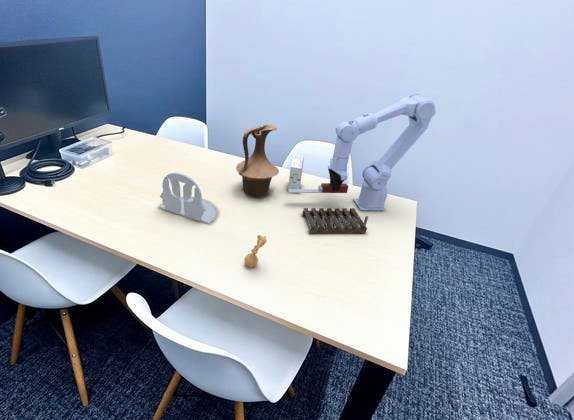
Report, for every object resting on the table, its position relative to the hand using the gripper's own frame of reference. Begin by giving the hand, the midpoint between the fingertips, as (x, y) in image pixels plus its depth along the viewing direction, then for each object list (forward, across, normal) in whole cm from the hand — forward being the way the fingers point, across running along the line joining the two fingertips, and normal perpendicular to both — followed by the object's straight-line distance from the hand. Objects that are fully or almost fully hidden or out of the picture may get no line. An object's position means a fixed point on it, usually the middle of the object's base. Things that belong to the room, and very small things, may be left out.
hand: (334, 188), depth 129 cm
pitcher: (+8, -11, -29) cm, 32 cm away
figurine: (+8, +36, -34) cm, 50 cm away
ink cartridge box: (+8, -14, -12) cm, 20 cm away
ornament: (+8, +3, -54) cm, 55 cm away
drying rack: (+8, +13, -3) cm, 16 cm away
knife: (+1, 0, -6) cm, 7 cm away
